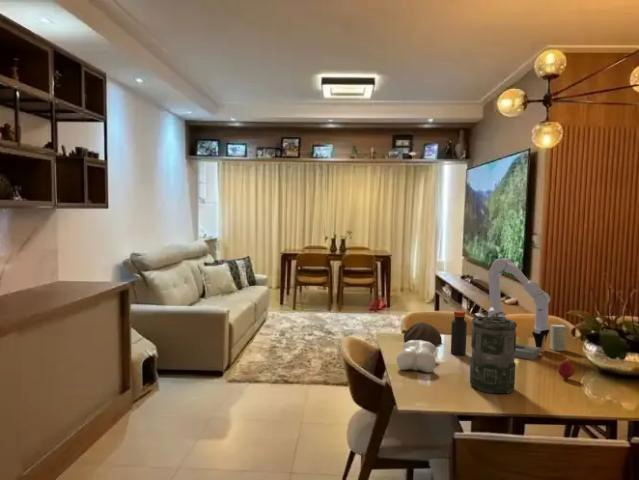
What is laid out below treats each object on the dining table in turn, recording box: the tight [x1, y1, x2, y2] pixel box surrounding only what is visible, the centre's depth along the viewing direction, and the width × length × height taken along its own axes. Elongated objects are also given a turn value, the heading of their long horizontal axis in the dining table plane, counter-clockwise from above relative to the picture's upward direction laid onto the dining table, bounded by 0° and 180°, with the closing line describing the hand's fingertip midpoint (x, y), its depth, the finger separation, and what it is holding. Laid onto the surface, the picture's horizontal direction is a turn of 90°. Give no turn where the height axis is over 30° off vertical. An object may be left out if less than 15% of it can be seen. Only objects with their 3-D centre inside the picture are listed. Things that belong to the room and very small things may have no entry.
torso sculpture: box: [396, 340, 437, 373], centre depth 209 cm, size 16×11×30 cm
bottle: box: [450, 310, 468, 357], centre depth 227 cm, size 7×7×20 cm
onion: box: [557, 359, 575, 380], centre depth 193 cm, size 6×6×8 cm
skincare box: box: [549, 324, 567, 352], centre depth 239 cm, size 6×4×12 cm
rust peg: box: [537, 336, 546, 353], centre depth 235 cm, size 3×3×8 cm
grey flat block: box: [514, 343, 540, 361], centre depth 229 cm, size 16×12×3 cm
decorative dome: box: [403, 322, 443, 347], centre depth 249 cm, size 19×20×10 cm
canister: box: [469, 312, 518, 394], centre depth 181 cm, size 16×16×28 cm
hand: (540, 345), depth 235 cm, fingers open, 7 cm apart
